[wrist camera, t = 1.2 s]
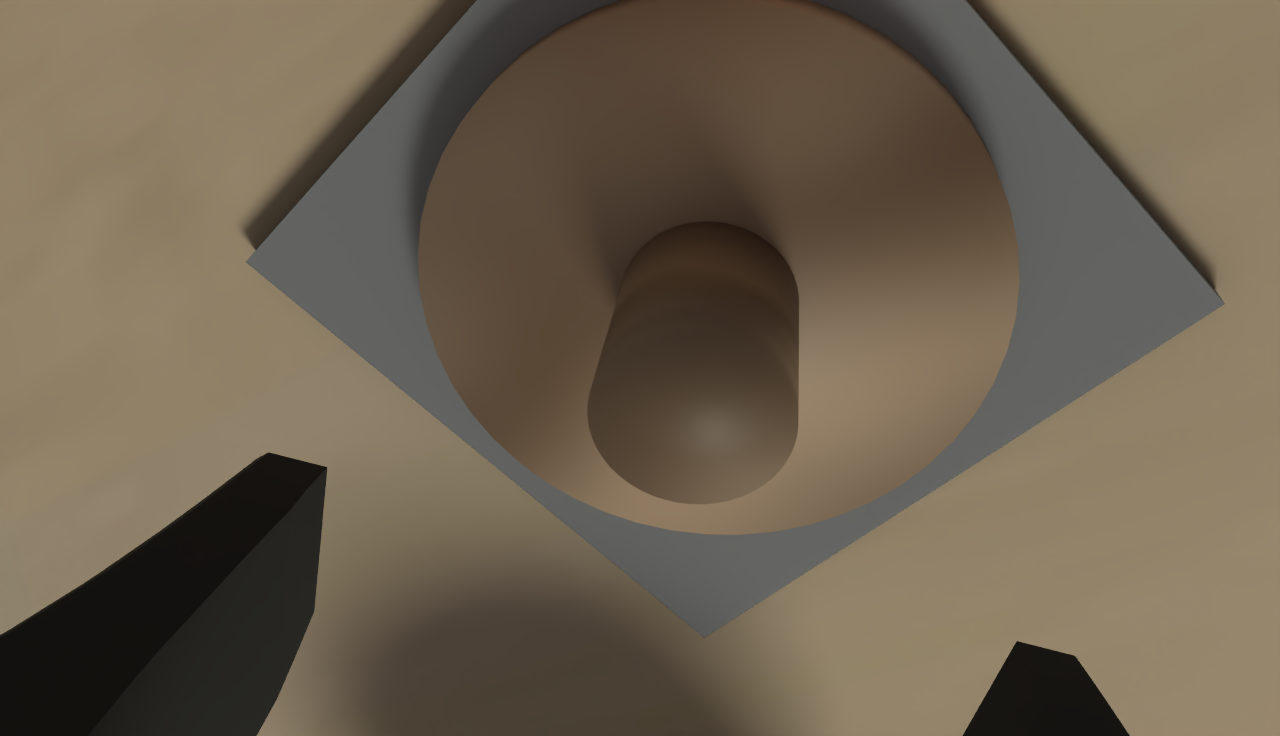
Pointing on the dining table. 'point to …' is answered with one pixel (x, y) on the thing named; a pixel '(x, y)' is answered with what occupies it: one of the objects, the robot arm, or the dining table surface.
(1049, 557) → the dining table surface
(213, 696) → the robot arm
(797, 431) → the lid
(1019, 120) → the mat
